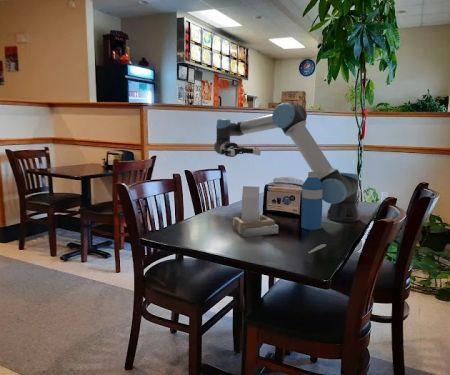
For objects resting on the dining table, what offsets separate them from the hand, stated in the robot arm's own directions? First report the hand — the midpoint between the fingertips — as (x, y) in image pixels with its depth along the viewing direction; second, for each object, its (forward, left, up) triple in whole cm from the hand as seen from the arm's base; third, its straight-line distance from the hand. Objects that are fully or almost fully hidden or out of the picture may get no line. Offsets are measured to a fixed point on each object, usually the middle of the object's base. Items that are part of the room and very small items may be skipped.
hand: (247, 152), depth 178 cm
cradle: (-14, +15, -32) cm, 38 cm away
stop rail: (-20, +18, -32) cm, 42 cm away
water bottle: (-32, -7, -32) cm, 46 cm away
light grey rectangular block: (-12, +14, -32) cm, 37 cm away
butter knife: (-46, +26, -33) cm, 62 cm away
